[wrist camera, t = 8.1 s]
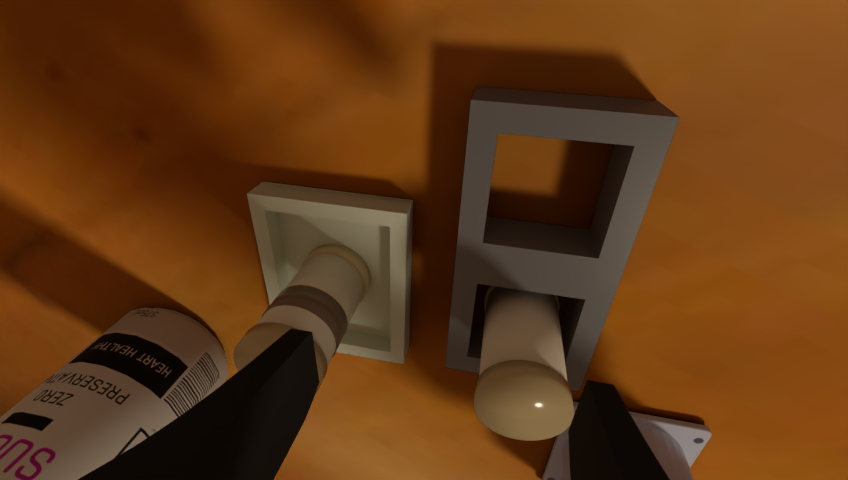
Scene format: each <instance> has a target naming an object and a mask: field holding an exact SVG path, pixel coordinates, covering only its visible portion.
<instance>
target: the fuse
mask: <svg viewBox="0 0 848 480" xmlns="http://www.w3.org/2000/svg"><path fill="white" fill-rule="evenodd" d="M484 308H485V321H484V331H483V341H482V351H481V361H480V371H479V377H478V379H477V382H476V387H475V396H474V410H475V413H476V415H477V417H478V418H479V419H480V421H481V422H482V423H483V424H484V425H485V426H486V427H488V428H489V429H491V430H492V431H494V432H496V433H498V434H500V435H502V436H505V437H508V438H512V439H517V440H525V441H536V440H544V439H548V438H552V437H554V436H557V435H559V434H561V433H562V432H564V431H565V430H566V429H567V428H568V427H569V426H570V425H571V422H572V419H573V417H574V406H573V399H572V392H571V388H570V385H569V384H568V381H567V374H566V366H565V358H564V350H563V343H562V335H561V327H560V320H559V310H560V304H559V296H558V295H551V294H544V293H537V292H531V291H524V290H517V289H510V288H504V287H497V286H490V285H488V286H487V288H486V292H485V301H484Z"/></svg>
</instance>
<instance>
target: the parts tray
mask: <svg viewBox="0 0 848 480" xmlns="http://www.w3.org/2000/svg"><path fill="white" fill-rule="evenodd" d="M247 198H248V202H249V207H250V212H251V217H252V222H253V226H254V231H255V236H256V241H257V246H258V251H259V255H260V260H261V265H262V270H263V275H264V279H265V284H266V289H267V294H268V299H269V303H270V305H271V303H272V302H273V301H274V300H275V298H276V297H277V296H278V294H279V293H280V292H281V291H282V290H284V289H285V287H286V286H287V285H288V284H289V282H290V281H291V280H292V278H293V277H294V276H295V275H296V273H297V272H298V271H299V270H300V268H301V265H302V263H303V261H304V260H305V259H306V258H307V256H308V255H309V254H310V253H311V251H312V250H313V249H315V248H316V247H318V246H320V245H324V244H338V245H342V246H345V247H347V248H350V249H351V250H353V251H355V252H356V253H357V254H359V255H360V256H361V257H362V258H363V259H364V261H365V262H366V264H367V265H368V267H369V270H370V273H371V284H370V287H369V289H368V291H367V293H366V295H365V297H364V299H363V300H362V301H361V302H360V303H359V305H358V307H357V309H356V311H355V313H354V315H353V317H352V319H351V321H350V323H349V325H348V327H347V330H346V333H345V335H344V337H343V339H342V341H341V343H340V345H339V347H338V349H337V351H336V352H339V353H345V354H350V355H356V356H361V357H367V358H372V359H378V360H383V361H389V362H394V363H400V364H404V362H405V359H406V356H407V352H408V349H409V345H410V310H411V275H412V240H413V205H414V200H410V199H401V198H393V197H385V196H377V195H369V194H360V193H352V192H344V191H336V190H328V189H319V188H311V187H303V186H295V185H286V184H278V183H270V182H262V183H260V184H259V185H258V186H256V187H255V188H253V189H252V190H251V191H249V192H248V193H247Z"/></svg>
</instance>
